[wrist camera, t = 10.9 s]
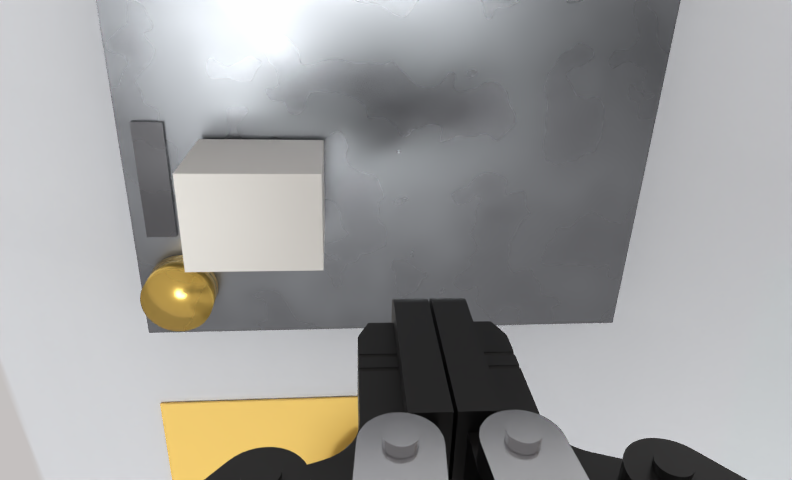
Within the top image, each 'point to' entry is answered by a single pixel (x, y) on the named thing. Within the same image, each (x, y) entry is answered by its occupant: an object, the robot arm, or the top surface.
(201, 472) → the pad
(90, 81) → the top surface
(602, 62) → the panel
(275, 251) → the block
